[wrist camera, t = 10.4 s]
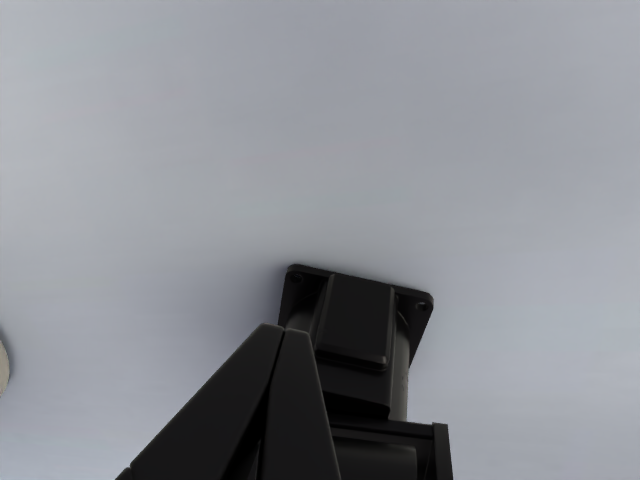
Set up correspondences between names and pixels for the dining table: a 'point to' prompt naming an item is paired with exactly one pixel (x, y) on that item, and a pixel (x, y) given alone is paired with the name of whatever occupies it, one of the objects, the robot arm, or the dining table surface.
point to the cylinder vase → (3, 369)
